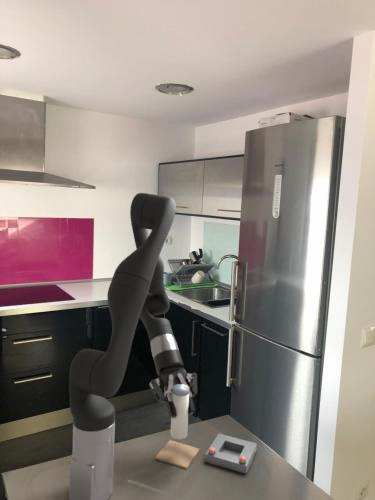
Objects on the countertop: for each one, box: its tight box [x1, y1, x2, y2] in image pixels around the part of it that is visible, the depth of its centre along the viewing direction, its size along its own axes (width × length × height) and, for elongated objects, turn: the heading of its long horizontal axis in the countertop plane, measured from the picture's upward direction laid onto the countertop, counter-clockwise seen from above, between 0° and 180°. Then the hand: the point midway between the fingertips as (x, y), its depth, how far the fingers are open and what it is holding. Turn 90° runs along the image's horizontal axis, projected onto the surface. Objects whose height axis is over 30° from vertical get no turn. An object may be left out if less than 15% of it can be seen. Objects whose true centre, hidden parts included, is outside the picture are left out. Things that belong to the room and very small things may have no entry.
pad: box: [154, 439, 201, 470], centre depth 108 cm, size 9×9×1 cm
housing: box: [204, 433, 258, 475], centre depth 108 cm, size 11×11×4 cm
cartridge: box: [170, 384, 190, 440], centre depth 106 cm, size 4×4×13 cm
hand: (183, 415), depth 105 cm, fingers closed on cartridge, 4 cm apart
